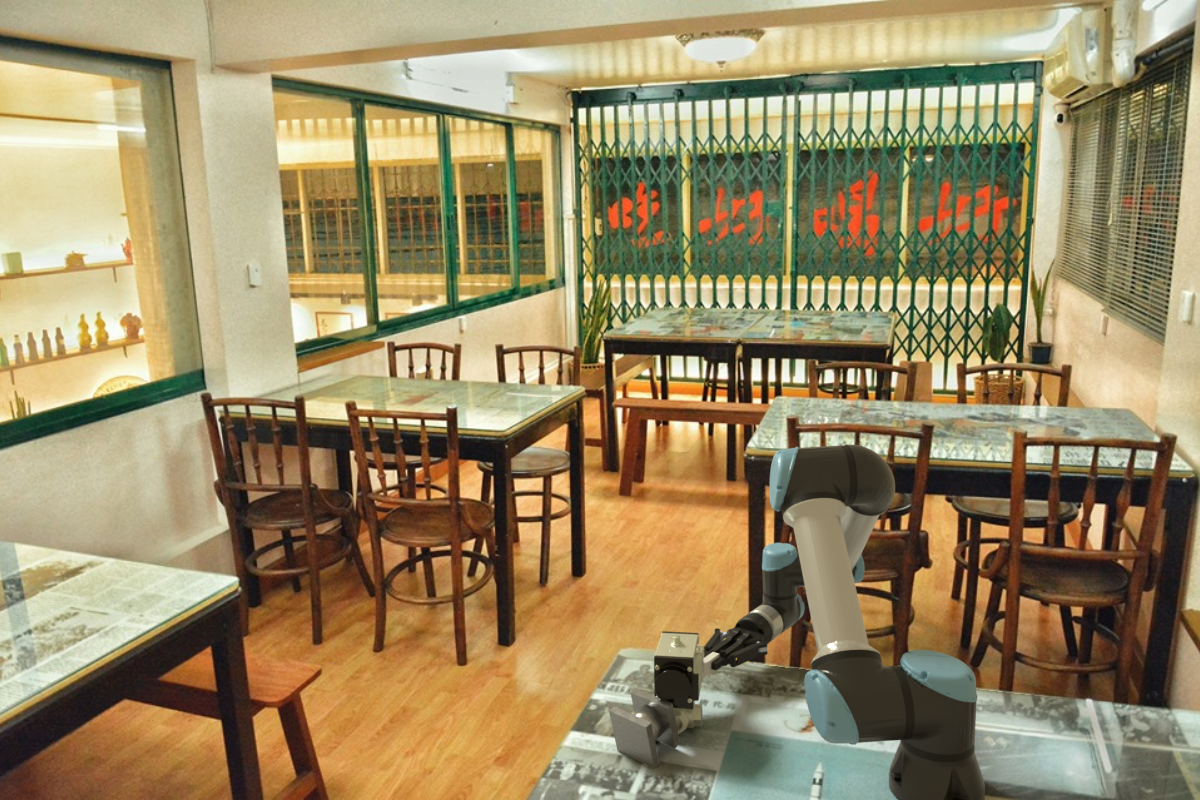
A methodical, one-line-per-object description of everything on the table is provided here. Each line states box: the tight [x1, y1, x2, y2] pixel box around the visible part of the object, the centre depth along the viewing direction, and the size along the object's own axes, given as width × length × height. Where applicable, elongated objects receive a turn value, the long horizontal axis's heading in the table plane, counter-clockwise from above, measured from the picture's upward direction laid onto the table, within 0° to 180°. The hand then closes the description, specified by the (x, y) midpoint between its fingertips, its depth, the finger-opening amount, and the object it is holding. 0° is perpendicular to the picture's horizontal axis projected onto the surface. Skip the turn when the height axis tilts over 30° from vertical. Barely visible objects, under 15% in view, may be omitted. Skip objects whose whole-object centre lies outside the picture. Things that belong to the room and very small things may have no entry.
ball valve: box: [653, 630, 705, 735], centre depth 177 cm, size 18×8×18 cm, turn 170°
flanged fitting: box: [608, 687, 681, 769], centre depth 170 cm, size 9×8×9 cm
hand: (698, 671), depth 184 cm, fingers closed
